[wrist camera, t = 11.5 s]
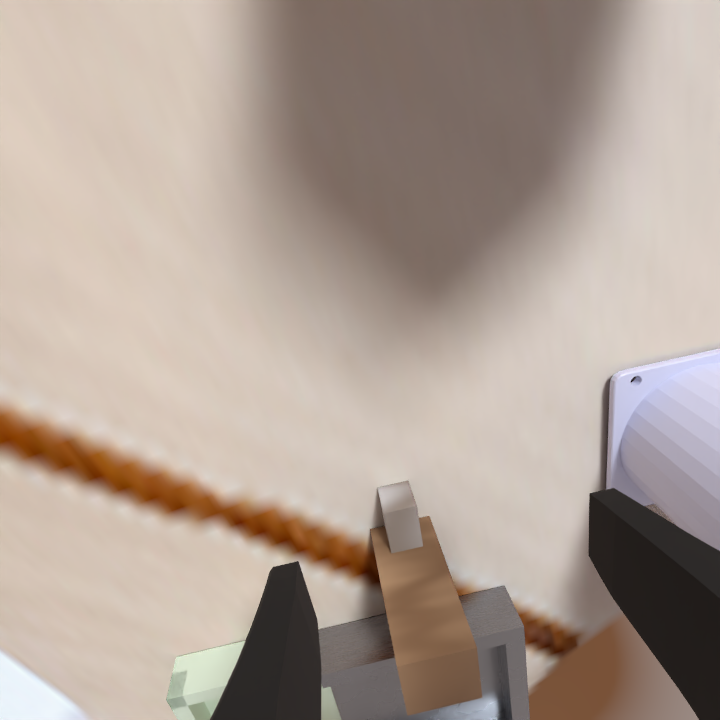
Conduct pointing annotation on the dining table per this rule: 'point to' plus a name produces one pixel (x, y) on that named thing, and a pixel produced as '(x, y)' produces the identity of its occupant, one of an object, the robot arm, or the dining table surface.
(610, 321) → the dining table surface
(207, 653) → the tray
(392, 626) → the brown block with peg
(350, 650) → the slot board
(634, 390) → the robot arm
